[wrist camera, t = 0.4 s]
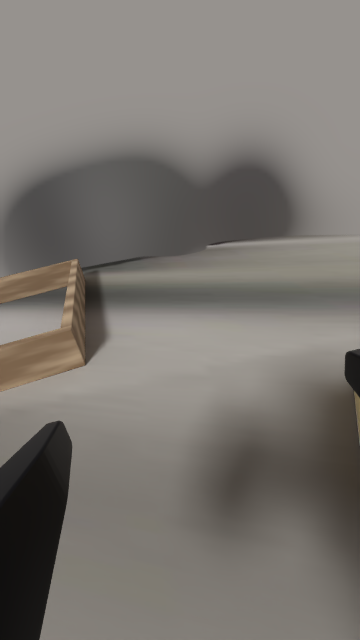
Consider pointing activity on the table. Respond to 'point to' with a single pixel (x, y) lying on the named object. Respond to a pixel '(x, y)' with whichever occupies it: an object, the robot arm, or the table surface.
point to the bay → (357, 412)
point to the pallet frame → (51, 347)
